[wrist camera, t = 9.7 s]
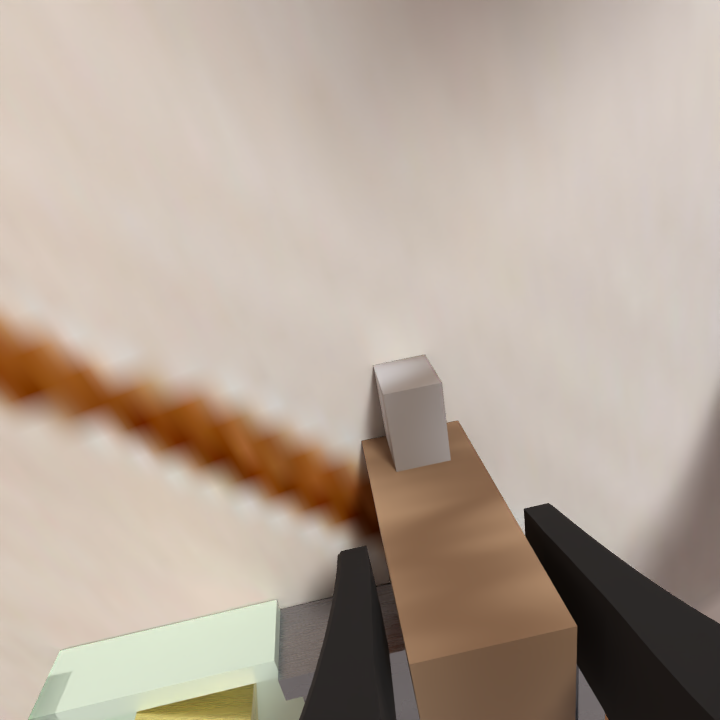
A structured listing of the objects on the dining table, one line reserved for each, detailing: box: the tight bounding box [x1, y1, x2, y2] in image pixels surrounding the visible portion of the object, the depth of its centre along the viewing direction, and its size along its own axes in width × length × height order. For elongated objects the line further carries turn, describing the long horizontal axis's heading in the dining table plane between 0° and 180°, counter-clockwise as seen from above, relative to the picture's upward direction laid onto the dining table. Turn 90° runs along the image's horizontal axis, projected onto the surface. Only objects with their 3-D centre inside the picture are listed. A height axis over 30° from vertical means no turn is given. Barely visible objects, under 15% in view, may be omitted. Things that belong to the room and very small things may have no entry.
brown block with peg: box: [362, 355, 577, 720], centre depth 12 cm, size 3×8×7 cm, turn 10°
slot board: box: [278, 584, 605, 720], centre depth 18 cm, size 10×11×2 cm
